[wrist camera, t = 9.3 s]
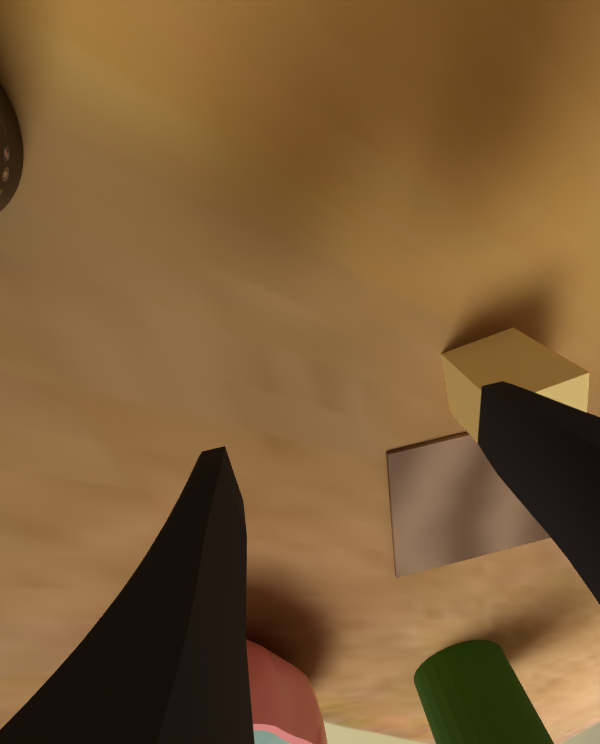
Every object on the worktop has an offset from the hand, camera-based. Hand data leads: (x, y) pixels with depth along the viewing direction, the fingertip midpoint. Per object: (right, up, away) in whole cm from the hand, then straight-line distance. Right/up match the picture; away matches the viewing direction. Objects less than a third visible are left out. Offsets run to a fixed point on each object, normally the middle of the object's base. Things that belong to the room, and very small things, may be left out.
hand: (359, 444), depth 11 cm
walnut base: (+10, -6, +17) cm, 20 cm away
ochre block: (+8, +2, +12) cm, 14 cm away
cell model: (-9, -22, +22) cm, 32 cm away
